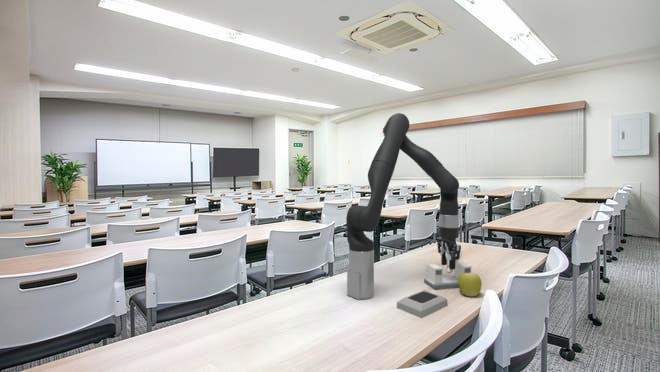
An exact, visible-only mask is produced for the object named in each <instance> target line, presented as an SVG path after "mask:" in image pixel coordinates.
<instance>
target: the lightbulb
mask: <svg viewBox="0 0 660 372" xmlns="http://www.w3.org/2000/svg"><path fill="white" fill-rule="evenodd" d="M450 252H453V251H450ZM445 256H446V259H447V265H446V269H445V271H446V273H448V274H454V269H452V270H451V269H449V260H450V259H449V255H448V254H447V250H446V252H445ZM451 256H452V254H451ZM456 256H457V254H456ZM462 258H463V253H462V250H461V251H460V257H459V260H456V261H455V265H456V263H457V262H460V261H461V259H462Z"/></svg>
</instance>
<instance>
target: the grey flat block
mask: <svg viewBox="0 0 660 372" xmlns="http://www.w3.org/2000/svg"><path fill="white" fill-rule="evenodd" d="M446 306H448V299H447V298H446V297H445V296H443V295H440V294H437V293H434V292H432V291H429V290H425V289H422V290H420V291H418V292H415V293H413V294H411V295H409V296H405V297H403V298H402V299H400V300H398V301H396V309H399V310H401V311H403V312H405V313H408V314H410V315H413V316H416V317H418V318H420V319H422V318H424V317H427V316H428V315H431V314H432V313H434V312H437V311H438V310H441V309H443V308H445V307H446Z"/></svg>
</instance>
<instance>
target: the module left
mask: <svg viewBox="0 0 660 372" xmlns="http://www.w3.org/2000/svg"><path fill="white" fill-rule="evenodd" d="M425 270H426V275H425V276H426V278H427V279H428V280H430V281H431V282H432V283H434V284H438V283H442V279H443V277H444V276H443V275H444V274H443V272H444V271H443V270H444V269H443V267H442V266H440V265H438V264H436V263H426V269H425Z"/></svg>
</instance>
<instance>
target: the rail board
mask: <svg viewBox="0 0 660 372" xmlns="http://www.w3.org/2000/svg"><path fill="white" fill-rule="evenodd" d="M423 283H424V284H426V285H427V286H428V287H429V288H431V289H433V290H434V291H436V290H437V291H438V290H447V289H448V290H450V289H460V288H459V284H458V278H456V277H454V275H453V276H443V279H442V283H438V284H434V283H432V282H431V281H430V280H428V279H427V278H423Z"/></svg>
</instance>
